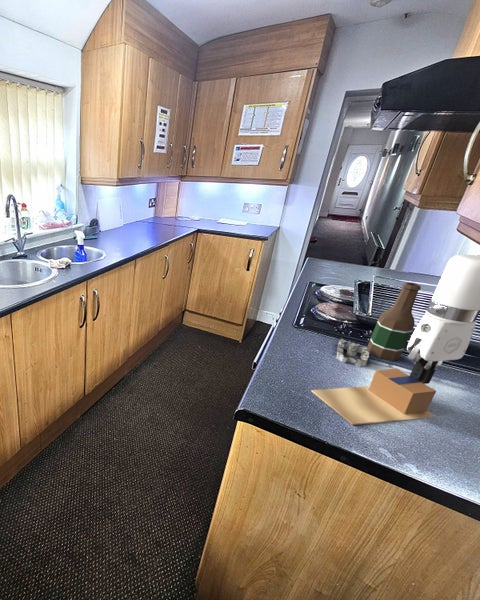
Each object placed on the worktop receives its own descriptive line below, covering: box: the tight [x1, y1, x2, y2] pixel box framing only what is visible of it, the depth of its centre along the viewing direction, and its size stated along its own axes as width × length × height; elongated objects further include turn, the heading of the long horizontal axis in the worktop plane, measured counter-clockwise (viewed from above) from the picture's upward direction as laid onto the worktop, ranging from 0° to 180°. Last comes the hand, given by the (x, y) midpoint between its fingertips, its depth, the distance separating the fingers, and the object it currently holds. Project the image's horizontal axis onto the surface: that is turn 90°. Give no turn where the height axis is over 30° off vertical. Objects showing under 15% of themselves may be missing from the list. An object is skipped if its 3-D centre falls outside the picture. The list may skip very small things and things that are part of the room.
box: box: [368, 367, 437, 414], centre depth 80 cm, size 6×9×6 cm, turn 7°
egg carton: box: [335, 338, 370, 368], centre depth 98 cm, size 11×8×4 cm
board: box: [310, 386, 438, 426], centre depth 80 cm, size 22×12×1 cm, turn 97°
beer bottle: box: [366, 282, 422, 362], centre depth 96 cm, size 8×8×24 cm
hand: (418, 380), depth 79 cm, fingers closed
